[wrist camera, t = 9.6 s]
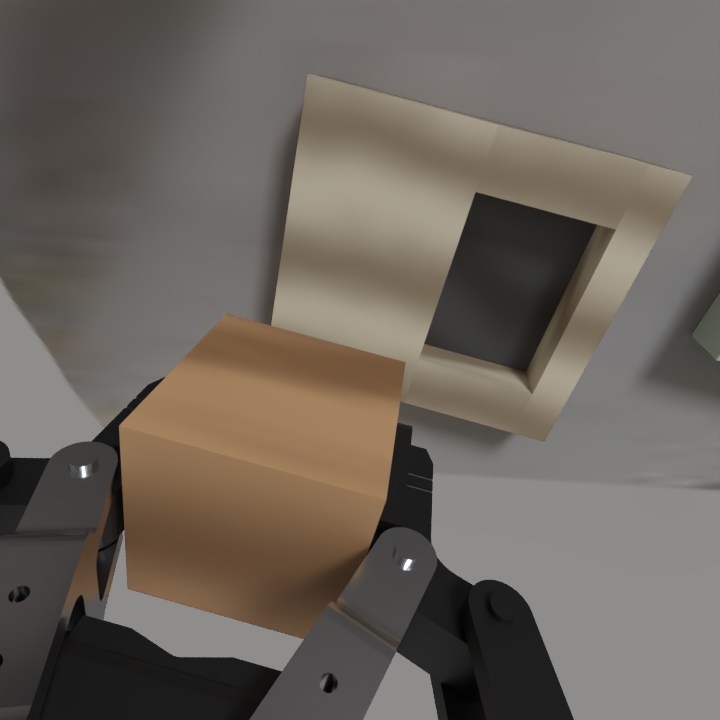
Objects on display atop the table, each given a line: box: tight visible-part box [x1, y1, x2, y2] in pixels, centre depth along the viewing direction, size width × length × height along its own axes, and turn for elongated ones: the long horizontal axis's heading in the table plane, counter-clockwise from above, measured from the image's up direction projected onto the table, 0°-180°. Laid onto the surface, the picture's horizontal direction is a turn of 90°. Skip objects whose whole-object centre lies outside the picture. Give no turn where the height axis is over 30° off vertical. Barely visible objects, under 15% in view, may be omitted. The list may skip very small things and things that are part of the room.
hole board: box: [271, 74, 692, 441], centre depth 27 cm, size 16×18×3 cm
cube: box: [119, 314, 406, 639], centre depth 12 cm, size 5×5×5 cm
